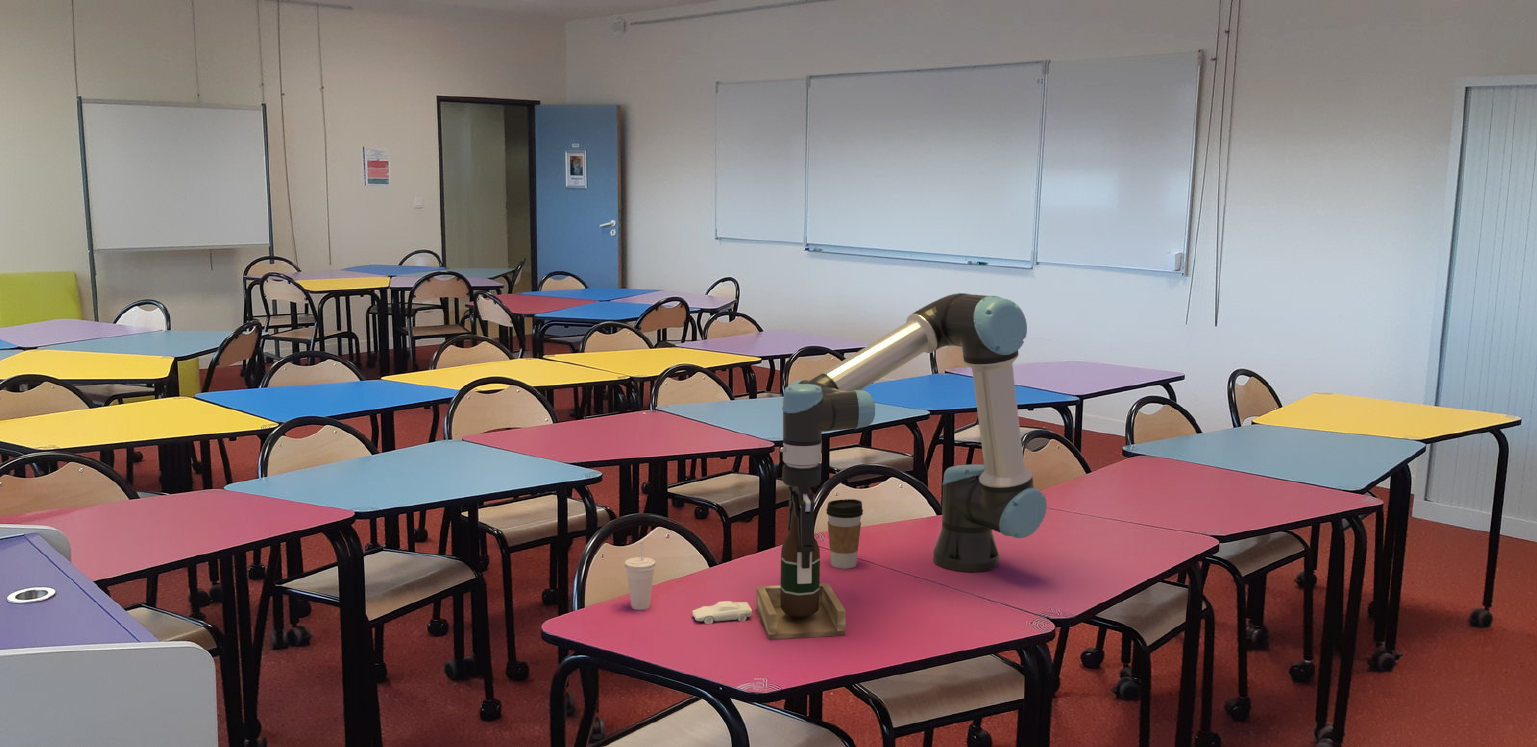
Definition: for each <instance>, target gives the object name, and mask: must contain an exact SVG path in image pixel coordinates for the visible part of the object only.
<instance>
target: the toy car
mask: <svg viewBox="0 0 1537 747" xmlns="http://www.w3.org/2000/svg"><path fill="white" fill-rule="evenodd" d="M691 613H692V615H693V617H694V618H695V621H697V622H704V624H705V625H712V624H713V622H722V621H724V622H725V621H734V620H735V621H737V622H738V621H739V622H746V620H747V618H749V617H751V616H752V615H753V609H752V608H751V606H750V604H749V603H748V602H747V601H739V602H738V601H737V602H736V601H731V600H727V601H725V600H723V601H718V602H717V603H715V604H713V605H708V606H707V605H703V606H701V607H699V608H696V609H694V610H691Z"/></svg>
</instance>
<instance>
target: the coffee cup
mask: <svg viewBox="0 0 1537 747" xmlns="http://www.w3.org/2000/svg"><path fill="white" fill-rule="evenodd" d="M863 514H864V510H863V502H862V501H861V500H860V499H855V498H854V499H853V498H852V499H850V498H849V499H836V500H831V501H829V502H827V507H826V515H828V516H827V517H828V518H827V519H828V521H827V530H828V542H829V543H828V544H829V555H830V566H832V567H833V568H835V569H844V570H845V569H852V568H855V567H856V566H857V562H858V561H857V560H858V551H859V543H860V542H859V541H860V535H861V527H862V526H861V525H862V522H861V519H862V518H861V517H862V516H863Z"/></svg>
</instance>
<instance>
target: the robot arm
mask: <svg viewBox="0 0 1537 747" xmlns="http://www.w3.org/2000/svg"><path fill="white" fill-rule="evenodd" d="M1027 334H1028V324H1027V319H1026V317H1025V313H1024V312H1023V310H1022V309H1021V307H1020V306H1019V305H1018V304H1017V303H1015V302H1014V301H1013V300H1011V299H1008V298H1004V297H1000V296H998V295H997V296H996V295H984V294H983V295H982V294H969V293H962V292H961V293H959V292H958V293H952V294H949V295H946V296H944V297H941V298H938V299H936V300H935V301H932V302H931V303H929V304H927V305H925V306H923V307H921V308H919V309H918V310H916V311H915V312H913V313H910V314H909V315H908V317H907V318H906V321H905V323H903V324H902V325H900V326H898V327H897V328H895V329H893V330H892V331H889V332H888V333H887V334H885V335H884V336H882V337H879V338H878V339H876V340H875V341H873V342H872V343H870V344H869V345H867V346H866V347H865V346H864V347H863V348H862V349H860V350H858V351H857V352H855V353H854V354H851V355H850V356H849V357H847V358H845V359H843V360H842V361H840V362H838V363H836V364H835V365H833V366H832V367H830V368H828V369H827V370H826V371H824V372H822V373H820V374H818V375H817V376H815V377H814V378H812V379H810V380H806V379H805V380H804V379H802V380H801V379H800V380H795V381H793V382H792V383H790V384H789V385H788V386H786V387H785V389H784V391H783V396H782V397H783V398H782V400H783V401H782V410H781V411H782V439H783V440H782V442H783V443H782V445H783V447H780V448H779V451H780V453H782V461H783V465H782V473H781V476H782V477H781V478H782V483H783V484H784V485H786V486H788V493H789V494H788V496H789V497H788V516H787V517H788V519H787V531H788V534H789V533H790V529H791V522H792V509H793V504H794V515H795V517H797V523H798V540H799V549H796V550H795V551H796V552H798V553H797V583H798V584H806V583H811V581H812V551H814V550H815V547H814V538H815V504H816V503H815V500H814V495H813V493H811V488H812V487H815V486H818V485H819V484H820V483H821V481H822V479H821V478H822V470H821V469H822V466H821V465H820V463H821V462H822V437H823V436H822V434H823V433H826V432H835V431H836V432H837V431H844V430H845V431H846V430H858V429H863V428H866V427H869V426H870V425H871V424H872V423H873V422H874V420H875V416H876V404H875V400H874V398H873V396H872V395H871V393H870V392H868V391H866V390H865V389H866V388H867V387H869V386H871V385H872V384H874V383H875V382H877V381H879V380H881V379H882V378H884V377H885V376H887V375H889V374H890V373H892V372H893V371H896V370H897V369H898V368H901V367H902V366H904V365H905V364H907V363H909V362H910V361H912V360H913V359H915V358H916V357H917V358H918V356H920V355H921V354H923V353H926V354H931V353H934V352H935V351H937V350H939V349H941V348H945V347H952V346H953V347H955V346H956V347H959V348H961V349H962V357H963V362H964V364H965V365H966V366H968V367H970V368H971V371H972V372H971V373H972V380H973V386H974V394H975V402H976V410H977V418H978V428H979V435H980V442H981V451H982V458H983V459H982V460H983V464H960V465H953V466H950V467H948V468H946V470H945V471H944V473H943V482H942V504H941V505H942V506H941V507H942V509H941V510H942V511H941V512H942V513H941V514H942V515H941V516H942V518H941V521H942V522H941V530H940V532H939V536H938V538H937V540H936V542H935V546H934V549H933V557H932V558H933V559H932V560H933V562H934V563H935V564H936V565H937V566H940V567H941V568H945V569H948V570H952V571H959V572H968V573H969V572H971V573H973V572H985V571H986V572H987V571H990V570H993V569H995V568H997V567H998V566H999V560H1000V558H999V557H1000V555H999V551H998V547H997V543H996V540H995V537H994V534H993V531H994V532H998V533H1000V534H1001V535H1003V536H1005V537H1012V538H1014V539H1025V538H1027V537H1029V536H1031V535H1033V534H1034V533H1036V531H1037V530H1038V529H1039V528H1040V527H1041V524H1042V523H1043V521H1044V519H1045V517H1046V514H1047V507H1048V503H1047V498H1046V496H1045V495H1044V493H1043V492H1041V490H1040V489H1039V488H1036V487H1035V486H1034V478H1033V473H1032V470H1030V469H1029V468H1027V467H1026V466H1025V462H1024V455H1023V454H1024V453H1023V452H1024V451H1023V444H1022V437H1021V436H1022V435H1021V427H1020V420H1019V419H1020V418H1019V410H1018V402H1017V401H1018V400H1017V393H1016V392H1017V391H1016V385H1015V374H1014V368H1013V367H1014V366H1013V364H1014V362H1015V361H1016V360H1017V358H1018V357H1019V351H1020V349H1021V347H1022V346H1023V345H1024V343H1025V341H1024V339H1026V338H1027ZM794 493H795V494H794ZM793 494H794V495H793Z"/></svg>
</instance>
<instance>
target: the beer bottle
mask: <svg viewBox="0 0 1537 747" xmlns="http://www.w3.org/2000/svg"><path fill="white" fill-rule="evenodd" d="M794 494H795V493H794ZM794 494H793V495H794ZM789 532H790V533H789ZM789 532H788V534H787V536H786V537H785V538H784V541H783V543H782V546H781V552H780V585H781V589H780V601H781V609H782V610H783V611H784V613H785V614H787V615H792V616H797V617H801V616H811V615H813V614H814V613H816V612H817V611H818V609H819V589H820V583H821V582H820V579H821V576H820V574H821V573H820V572H821V552H820V551H821V550H820V546H819V544H818V541H817V539H816V538H815V537H814V547H815V550H814V551H812V581H811V583H806V584H798V583H797V553H798V552H796V551H795V550H796V549H799V540H798V523H797V517H795V515H794V504H793V509H792V522H791V529H790V531H789Z"/></svg>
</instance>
